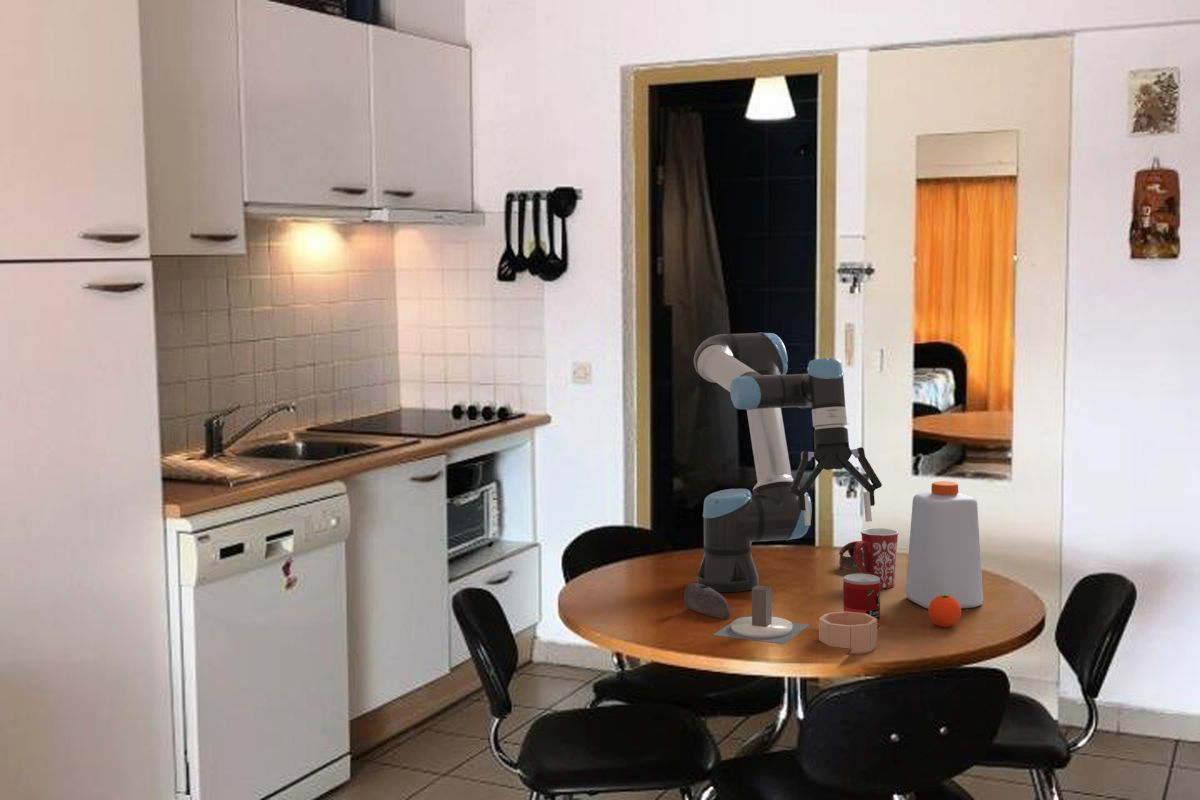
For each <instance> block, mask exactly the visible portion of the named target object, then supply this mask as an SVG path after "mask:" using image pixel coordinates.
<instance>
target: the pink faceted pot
mask: <svg viewBox="0 0 1200 800" xmlns="http://www.w3.org/2000/svg"><path fill="white" fill-rule="evenodd" d="M877 627H878V624H877V619H876V618H874V617H872V616H871V615H869V614H866V613H857V612H848V611H835V612H826V613H825V614H823V615H822V616H820V617H819V619H818V641H820V642H822V643H823V644H825V645H826V646H828V647H832V648H833V647H834V648H841V649H842V648H844V649H850V650H848V651H847V652H846V653H845V654H844V655H846V656H852V655H853V656H855V655H857V656H858V655H864V654H865V655H866V654H869V653H872V652H874V651H875V650H876V647H877V646H878V629H877Z"/></svg>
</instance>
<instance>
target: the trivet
mask: <svg viewBox="0 0 1200 800" xmlns="http://www.w3.org/2000/svg"><path fill="white" fill-rule="evenodd" d="M744 617H745V616H740V617H737V619H739V618H744ZM790 622H791V623H792V624H793V631H792V632H791V633H790V634H788V635H786V636H782V637H776V638H751V637H744V636H740V635H737V634H735V633H733V632H732V630H731V623H732V622H730V623H729V624H727V625H726V626H724V627H723V628H721V629H719V630H718V631H717V632H715V633H713V634H712V636H716V637H723V638H724V637H725V638H732V639H740V640H747V641H755V642H763V643H765V642H766V643H772V644H773V643H774V644H779V645H780V644H781V645H785V644H786V643H788V642H790V641H791V640H792V639H793V638H795V637H796V636H798V634H800V633H801V632H803V631H805V629H807V628H808V627H809V626H810V624H808V623H798V622H792V621H790Z"/></svg>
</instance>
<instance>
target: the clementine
mask: <svg viewBox="0 0 1200 800" xmlns="http://www.w3.org/2000/svg"><path fill="white" fill-rule="evenodd" d="M928 616H929V618H930V620H931V621H932V623H934V625H936V626H939V627H941V628H950V627H953V626H955V625H957V623H958V622H959V621H960V618H961V617H962V609H961V607H960V605H959V603H958V601H957V600H956V599H954V598H953V597H951V596H948V595H946V594H940V596H937V597H936V598H934V599H933V600H932V602H931V603H930V605H929V609H928Z"/></svg>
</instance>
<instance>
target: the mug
mask: <svg viewBox="0 0 1200 800" xmlns="http://www.w3.org/2000/svg"><path fill="white" fill-rule="evenodd" d="M860 534H861V540H858V541H859V542H857V543H856V545H855V548H854V557H855V561H856V564H857V565H856V566H857V567H858V568H857V569H859V571H860V574H870V575H875V576H877V577H879V578H880V590H884V589H883V588H887V589H892V588H894V587H893V586H895V580H896V566H897V551H898V550H897V549H898V536H899V531H898V530H895V529H892V528H884V527H883V528H882V527H878V528H877V527H876V528H875V527H873V528H872V527H871V528H869V527H868V528H865V529H861V530H860ZM861 547H862V548H861ZM861 550H862V552H863V563H862V561H861V557H860V551H861ZM891 587H892V588H891Z"/></svg>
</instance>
